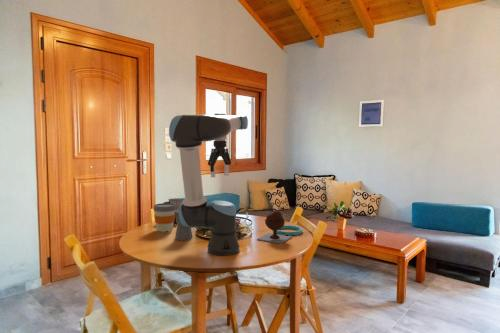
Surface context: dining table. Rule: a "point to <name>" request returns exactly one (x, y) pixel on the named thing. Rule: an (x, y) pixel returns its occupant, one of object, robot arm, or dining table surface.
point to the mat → (278, 241)
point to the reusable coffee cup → (164, 216)
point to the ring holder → (290, 232)
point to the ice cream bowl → (274, 222)
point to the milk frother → (177, 205)
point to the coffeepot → (182, 229)
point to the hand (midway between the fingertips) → (219, 176)
